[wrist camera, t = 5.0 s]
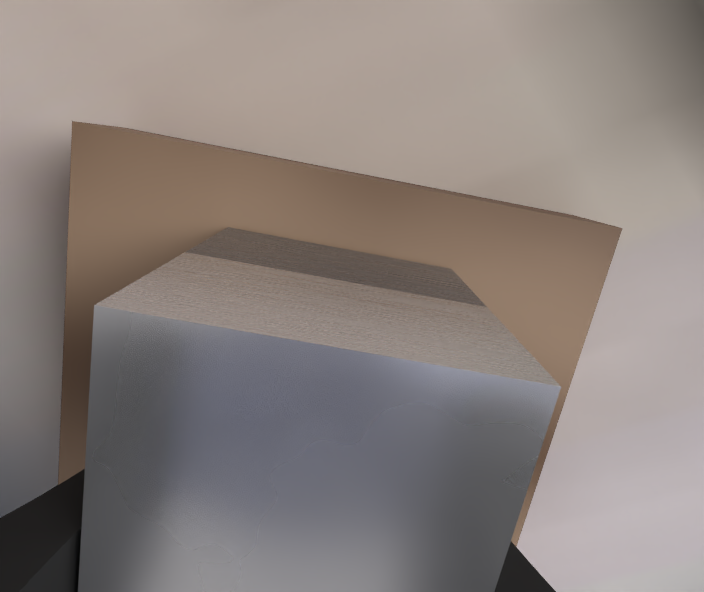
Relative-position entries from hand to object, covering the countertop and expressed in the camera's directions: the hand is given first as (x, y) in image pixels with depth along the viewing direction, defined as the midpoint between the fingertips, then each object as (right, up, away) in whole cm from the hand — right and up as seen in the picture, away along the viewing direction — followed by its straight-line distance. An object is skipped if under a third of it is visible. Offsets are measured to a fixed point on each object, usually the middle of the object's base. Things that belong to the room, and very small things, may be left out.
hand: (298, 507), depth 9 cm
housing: (0, +1, +3) cm, 3 cm away
